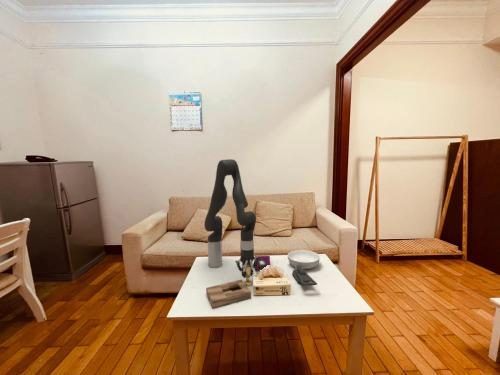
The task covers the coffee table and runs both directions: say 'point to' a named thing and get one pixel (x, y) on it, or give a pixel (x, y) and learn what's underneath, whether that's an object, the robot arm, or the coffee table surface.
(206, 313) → the coffee table surface
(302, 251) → the serving bowl
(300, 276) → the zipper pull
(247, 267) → the peg
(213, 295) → the keyhole board
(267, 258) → the purple tall block
